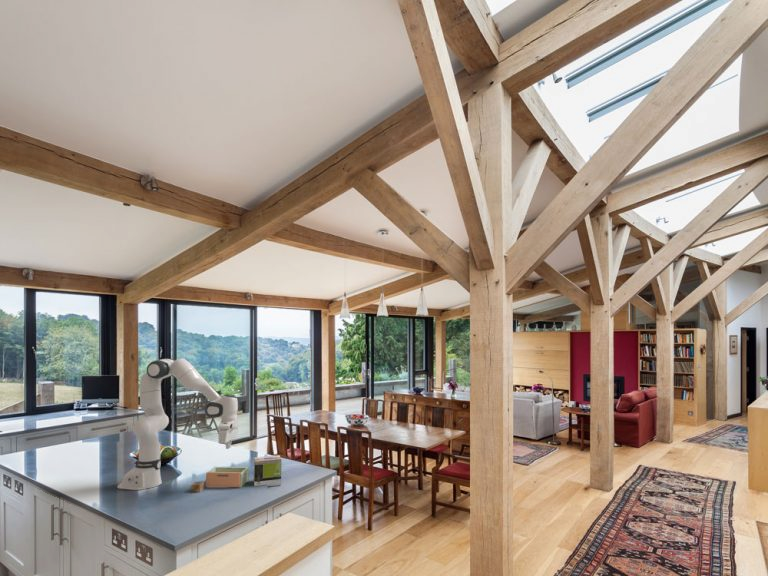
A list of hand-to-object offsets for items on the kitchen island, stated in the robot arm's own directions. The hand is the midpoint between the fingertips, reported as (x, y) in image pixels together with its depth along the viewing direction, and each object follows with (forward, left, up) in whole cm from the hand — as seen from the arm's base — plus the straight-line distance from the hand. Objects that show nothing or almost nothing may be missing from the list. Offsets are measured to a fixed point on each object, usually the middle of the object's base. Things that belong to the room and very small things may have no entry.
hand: (228, 448), depth 251 cm
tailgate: (0, -6, -20) cm, 21 cm away
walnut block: (-12, -11, -21) cm, 27 cm away
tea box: (+22, +4, -21) cm, 31 cm away
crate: (0, +1, -21) cm, 21 cm away
